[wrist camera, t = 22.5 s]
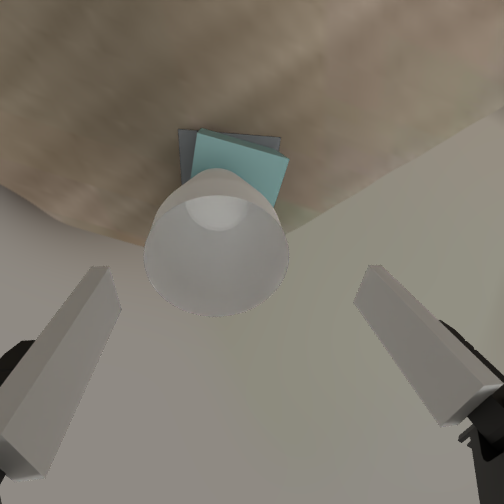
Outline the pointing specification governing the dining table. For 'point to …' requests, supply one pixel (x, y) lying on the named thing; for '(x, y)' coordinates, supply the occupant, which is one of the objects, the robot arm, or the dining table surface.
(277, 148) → the base mat
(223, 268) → the cup
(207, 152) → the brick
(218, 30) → the dining table surface
